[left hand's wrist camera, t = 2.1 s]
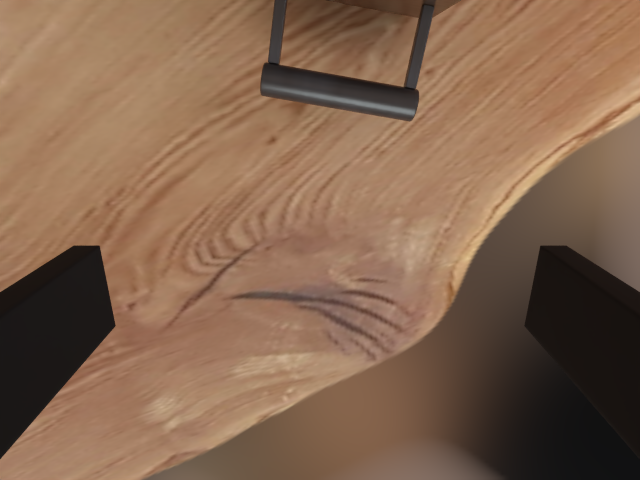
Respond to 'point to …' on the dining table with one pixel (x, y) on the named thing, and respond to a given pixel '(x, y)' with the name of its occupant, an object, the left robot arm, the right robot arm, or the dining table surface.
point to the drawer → (348, 91)
